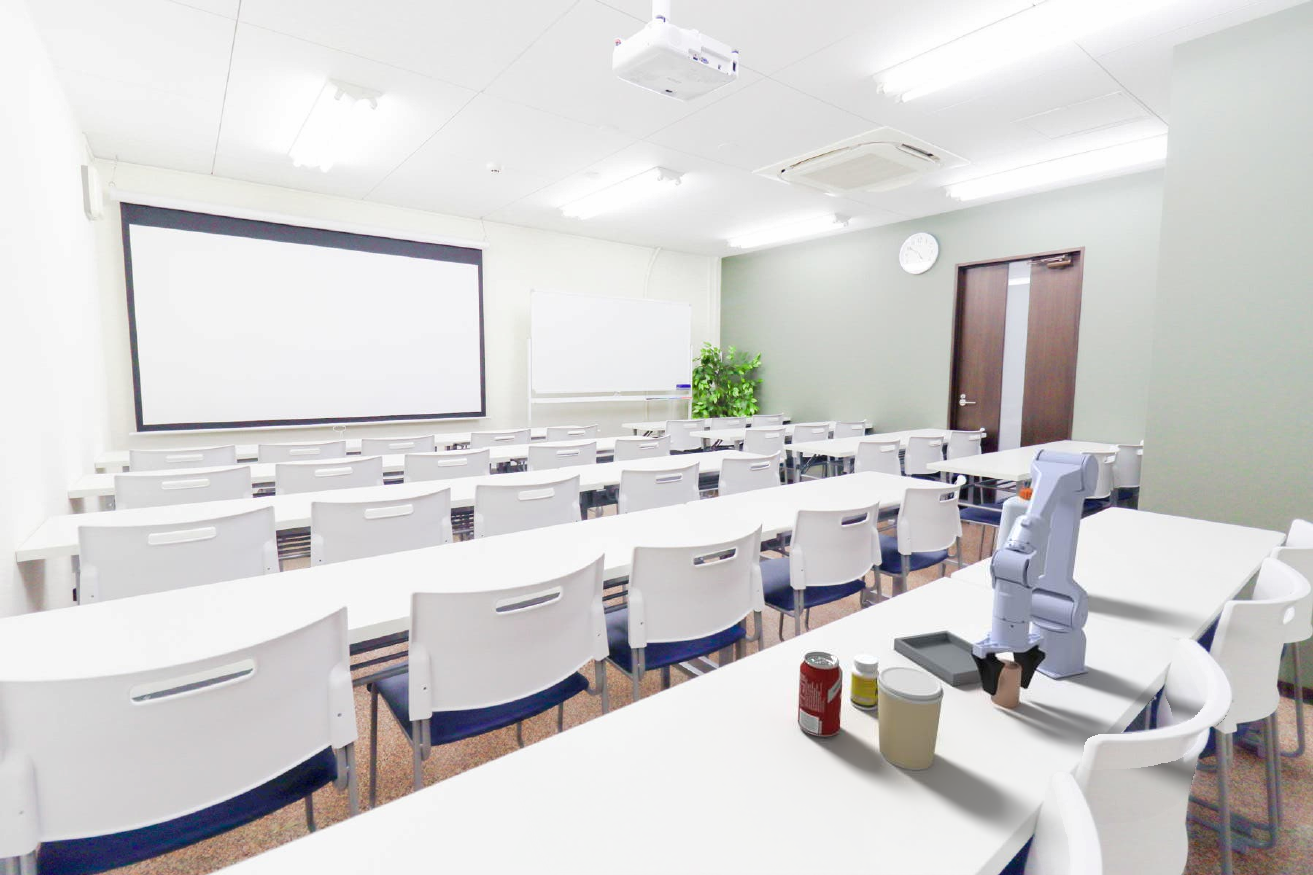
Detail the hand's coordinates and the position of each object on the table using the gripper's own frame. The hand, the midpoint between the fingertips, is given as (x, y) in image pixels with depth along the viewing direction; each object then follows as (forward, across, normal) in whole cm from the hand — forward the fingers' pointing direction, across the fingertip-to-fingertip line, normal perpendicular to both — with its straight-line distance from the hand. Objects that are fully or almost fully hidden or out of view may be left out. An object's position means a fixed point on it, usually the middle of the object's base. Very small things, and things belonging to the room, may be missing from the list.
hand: (1005, 689), depth 108 cm
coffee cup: (+3, +28, +7) cm, 29 cm away
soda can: (+3, +37, -3) cm, 37 cm away
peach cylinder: (+2, 0, 0) cm, 2 cm away
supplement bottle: (+3, +25, -7) cm, 26 cm away
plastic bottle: (+2, -55, -42) cm, 69 cm away
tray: (+2, -2, -15) cm, 15 cm away
